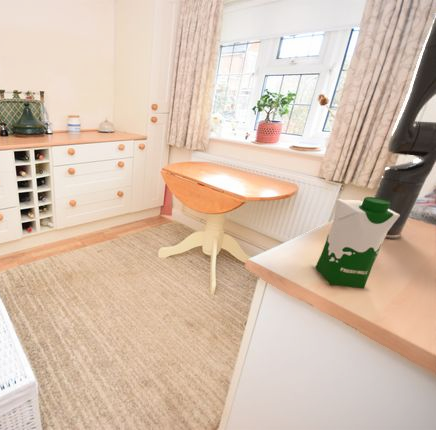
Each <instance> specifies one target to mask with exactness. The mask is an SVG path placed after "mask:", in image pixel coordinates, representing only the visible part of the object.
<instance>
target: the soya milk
mask: <svg viewBox="0 0 436 430" xmlns="http://www.w3.org/2000/svg"><path fill="white" fill-rule="evenodd" d="M389 205H390V202H389V201H387V200H384V199H380V198H374V196H365V197H364V198H363V200H356V199H342V198H337V199H336V203H335V209H334V215H333V221H332V223H331V226H330V228H329V231H328V234H327V236H326V240H325V243H324V245H323V249H322V251H321V254H320V255H319V258H318V260H317V263H316V264H315V267H314V268H315V270H316V271H317V272H318V274H320V275H321V276H322V278H323V279H324V280H325V281H326V282H327V284H329V285H330V286H336V287H344V288H345V287H346V288H353V289H354V288H356V289H365V287H366V285H367V282H368V279H369V277H370V274H371V271H372V269H373V266H374V264H375V261H376V259H377V257H378V255H379V252H380V251H381V248H382V245H383V243H384V241H385V239H386V238H385V237H386V234H387V232H388V231H389V229H390V228H391V227H392V225H393V224H394V223H395V221H396V220H397V219H398V217H399V216H400V215H399V214H397V213H396V212H394V211H392V210H390V209H388V208H389Z"/></svg>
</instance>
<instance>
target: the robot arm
mask: <svg viewBox="0 0 436 430" xmlns="http://www.w3.org/2000/svg"><path fill="white" fill-rule="evenodd" d="M412 77H413V78H412V80H411V83H410V87H409V90H408V93H407V95H406V98H405V101H404V103H403V106H402V108H401V111H400V113H399V115H398V117H397V120H396V121H395V124H394V126H393V129H392V131H391V134H390V136H389V140H388V144H387V151H388V152H389V153H390V154H392V155H398V156H406V157H415V158H414V159H412V160H410V161H408V162H405V163H401V164H394V165H389V166H387V167H385V169H383V173H382V175H381V177H380V179H379V182H378V185H377V188H376V190H375V193H374V195H373V197H374V198H380V199H384V200H387V201H389V202H390V205H389V208H388V209H390V210H392V211H394V212H396V213H397V214H399V215H400V216H399V217H398V219H397V220H396V221H395V223H394V224H393V225H392V227H391V228H390V229H389V231H388V232H387V234H386V237H385V239H399V238H400V237H401V236H402V232H403V230H404V228H405V225H406V224H407V223H408V222H407V221H408V219H409V217H410V215H411V213H412V211H413V209H414V206H415V205H416V202H417V200H418V197H419V196H420V193H421V190H422V189H423V187H424V184H425V182H426V180H427V178H428V177H429V176H430V173H431V172H432V170H433V168H434V166H435V164H436V122H434V121H420V120H419V121H417V117H418V115H419V113H420V112H421V111H422V110H423V108H424V107H425V105H426V104H427V103H428V102H429V101H430V100H431V99H432V98H433V97H435V96H436V14H435V16H434V18H433V21H432V24H431V26H430V29H429V31H428V34H427V37H426V39H425V42H424V45H423V47H422V50H421V52H420V55H419V58H418V61H417V64H416V68H415V70H414V74H413V76H412Z"/></svg>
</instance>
